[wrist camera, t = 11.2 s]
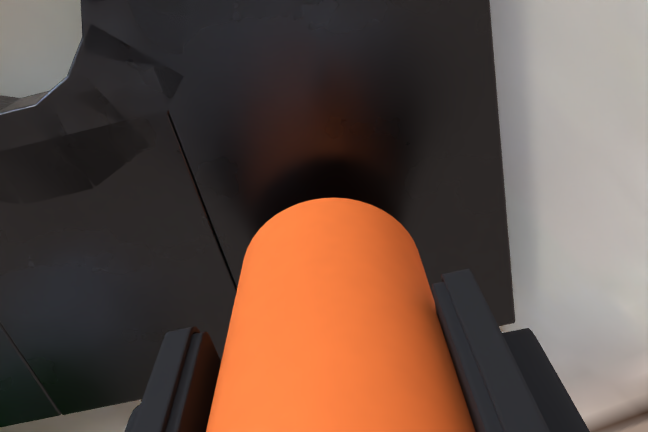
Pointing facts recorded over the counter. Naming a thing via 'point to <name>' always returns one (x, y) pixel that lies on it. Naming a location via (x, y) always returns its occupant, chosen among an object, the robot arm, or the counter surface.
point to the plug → (335, 330)
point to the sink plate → (229, 171)
